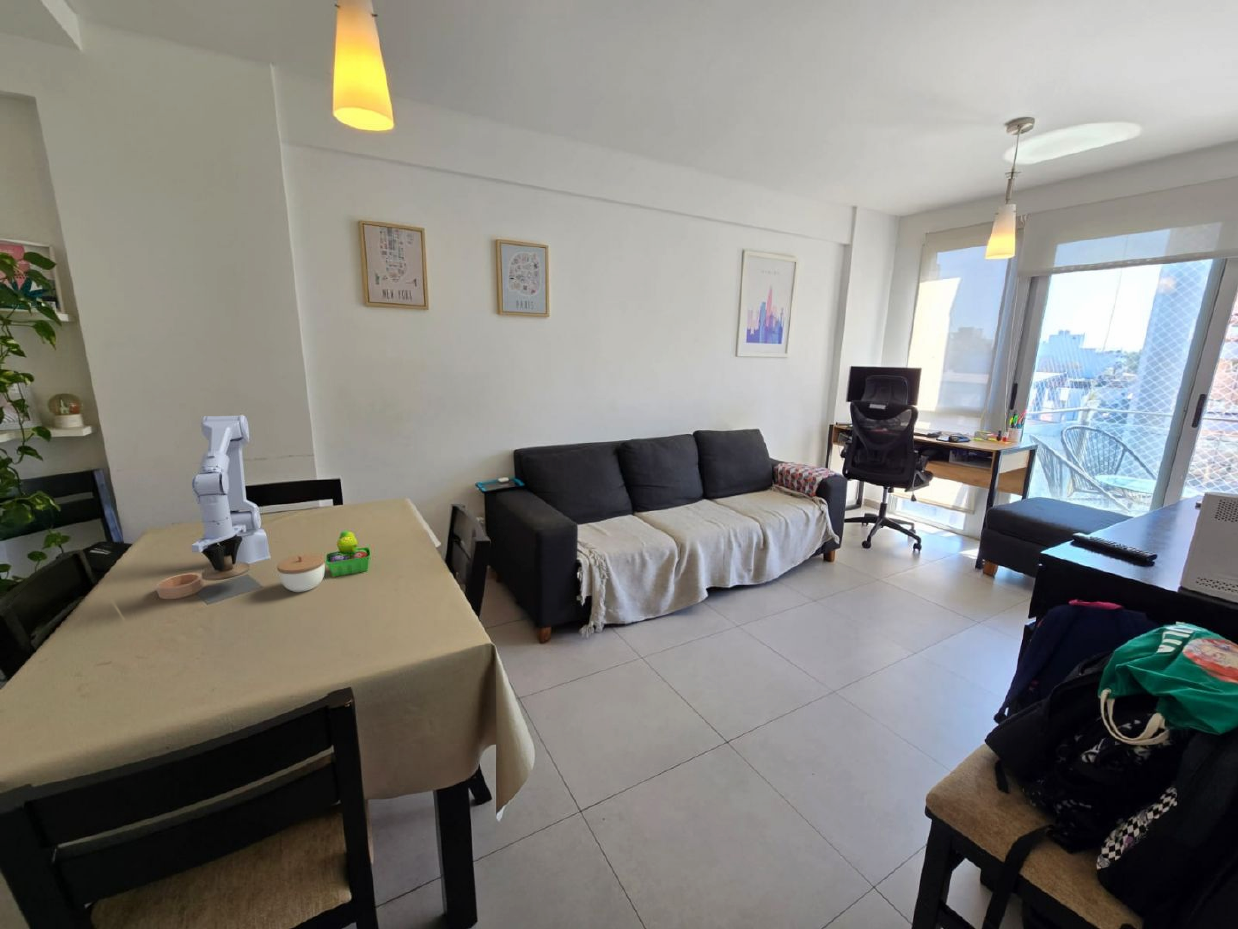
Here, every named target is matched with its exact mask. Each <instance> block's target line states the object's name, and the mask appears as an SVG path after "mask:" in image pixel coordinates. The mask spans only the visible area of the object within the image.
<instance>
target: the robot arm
mask: <svg viewBox="0 0 1238 929" xmlns="http://www.w3.org/2000/svg"><path fill="white" fill-rule="evenodd" d="M200 425H201V426H200V427H201V432H202V434H203V436H204V437H205V439H206V440H207V441H208V451H207V452H205V453H204V454H203V455H202V456H201V459H200V460H201V461H200V464H199V469H198V474H197V475H196V476H193V477H191V478H192V479H191V488H192V489H191V490H192V493H193V495H194V497H195V501H196V503H197V505H199V510H200V514H201V521H202V526H203V530H204V533H203V534H202V538H200V539H199V540H197V541H196V542H194V543H193V544H191V545H190V548H191V552H192V553H202V555H204V556H205V557H206V559H207V560H208V561H209V562H210V564H211V567H213V568H214V569H215V570H219V571H222V570H224V555H231V558H232V564H233V565H234V564H235V563H236V562H245V563H248V564H249V565H250V564H253V563H257V562H260V561H264V560H267V559H271V558H272V556H271V554H270V548H269V541H268V537H267V533H266V531H265V530H264V528H261V526H262V519H261V514H260V508H259V506H258V505H257V504H256V503H254V502H252V501H250V500H248V499H247V491H246V483H245V482H246V481H245V470H244V460H243V448H244V447H243V446H244V445H247V444H249V443H250V441H249V440H250V431H249V422H248V419H247V417H246V416H245V415H244V414H240V415H219V416H217V415H216V416H215V415H214V416H213V415H212V416H210V415H209V416H207V415H204V416H203V417H202V418H201V422H200ZM233 511H234V512H233Z"/></svg>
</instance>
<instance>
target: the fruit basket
mask: <svg viewBox="0 0 1238 929" xmlns="http://www.w3.org/2000/svg"><path fill="white" fill-rule="evenodd" d="M358 544H359V543H358V540H357V539H356V537H355V534H354V533H353V532H351V531H349V530H344V531H342V532H341V533H340V535H339V539H338V540H337V542H336V546H337V547H338V551H334V552H329V553H327V554H326V557H325V565H326V566H327V567H328V569H329V571H330V574H331V576H332V577H333V578H334V577H339V576H346V575H350V574H352V575H353V574H357V573H358V574H359V573H362V572H368V570H369V565H370V559H371V555H372V554H371V546H370V547H369V546H368V547H367V546H366V547H360V548H358Z"/></svg>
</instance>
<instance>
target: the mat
mask: <svg viewBox="0 0 1238 929" xmlns="http://www.w3.org/2000/svg"><path fill="white" fill-rule="evenodd" d="M262 588H264V586H263V585H262V584H260V583H259V582H258V581H257V580H256V579H255V578H253V577H252V576H250V574H248V573H247V574H244V575H239V576H236V577H233V578H229V579H225V580H224V581H221V582H217V583H213V584H210V585H206V586H204V587H203V588H202V589H201V590H199V591H198V592H196V593H195V594H197V596H199V597H200V598H201V600H203V601H204V603H206V604H207V605H211V604H214V603H215V604H216V603H218V602H221V601H223V600H227V599H230V598H231V599H232V598H234V597H236V596H237V597H238V596H239V595H243V594H246V593H251V592H252V591H256V590H260V589H262Z"/></svg>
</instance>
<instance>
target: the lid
mask: <svg viewBox="0 0 1238 929" xmlns="http://www.w3.org/2000/svg"><path fill="white" fill-rule="evenodd" d="M249 570H250V564H248V563H245V562H236V563H235V564H234V565H233V564H232V558H231V555H224V570H222V571H219V570H215V569H214V568H213V566H211V567H209V568H207V569H204V570H203V571H202V572H201V573H200V574H201V575H202V579H204V581H209V582H210V581H222V580H230V579H233V578H237V577H240V576H242V575H243V574H244V575H245V573H247V572H248V571H249Z"/></svg>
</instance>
